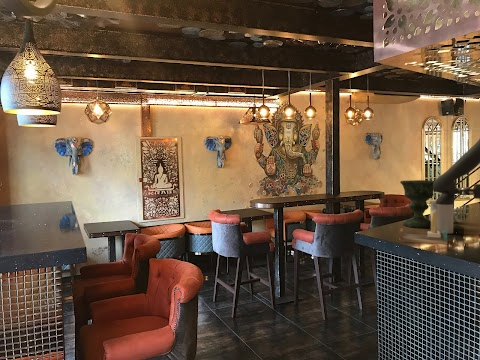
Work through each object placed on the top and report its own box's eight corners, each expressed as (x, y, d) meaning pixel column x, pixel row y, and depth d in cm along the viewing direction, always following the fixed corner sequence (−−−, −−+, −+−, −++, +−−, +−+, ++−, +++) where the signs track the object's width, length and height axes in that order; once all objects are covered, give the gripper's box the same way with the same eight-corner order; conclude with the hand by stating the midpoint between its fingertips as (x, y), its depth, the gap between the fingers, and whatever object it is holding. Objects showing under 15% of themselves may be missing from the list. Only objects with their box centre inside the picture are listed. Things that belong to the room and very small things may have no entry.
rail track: (400, 238, 225) (400, 228, 225) (445, 240, 216) (445, 230, 216) (399, 241, 216) (399, 231, 216) (447, 244, 207) (447, 233, 206)
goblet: (424, 230, 248) (424, 182, 246) (393, 225, 267) (393, 181, 265) (444, 226, 259) (444, 180, 258) (413, 222, 279) (413, 179, 277)
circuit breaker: (454, 222, 273) (455, 201, 273) (434, 223, 274) (434, 201, 273) (449, 221, 281) (449, 200, 280) (429, 221, 281) (429, 200, 280)
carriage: (427, 234, 218) (427, 211, 217) (439, 235, 216) (439, 211, 215) (428, 237, 212) (428, 212, 211) (440, 237, 209) (440, 213, 209)
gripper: (482, 183, 210) (448, 182, 217) (487, 185, 197) (450, 184, 204) (482, 197, 211) (447, 196, 217) (486, 200, 198) (450, 199, 204)
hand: (449, 190), depth 210 cm, fingers open, 8 cm apart
